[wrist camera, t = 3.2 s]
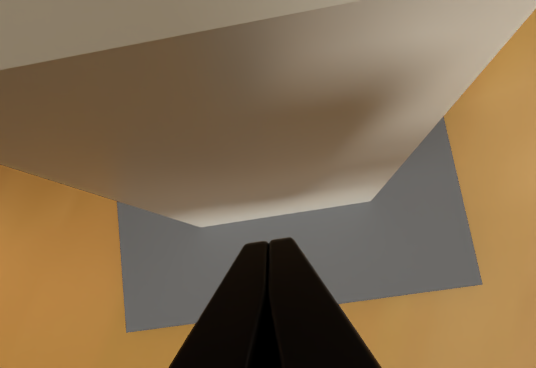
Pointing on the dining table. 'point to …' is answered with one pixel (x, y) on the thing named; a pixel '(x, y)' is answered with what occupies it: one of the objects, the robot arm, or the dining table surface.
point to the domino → (235, 96)
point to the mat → (311, 244)
